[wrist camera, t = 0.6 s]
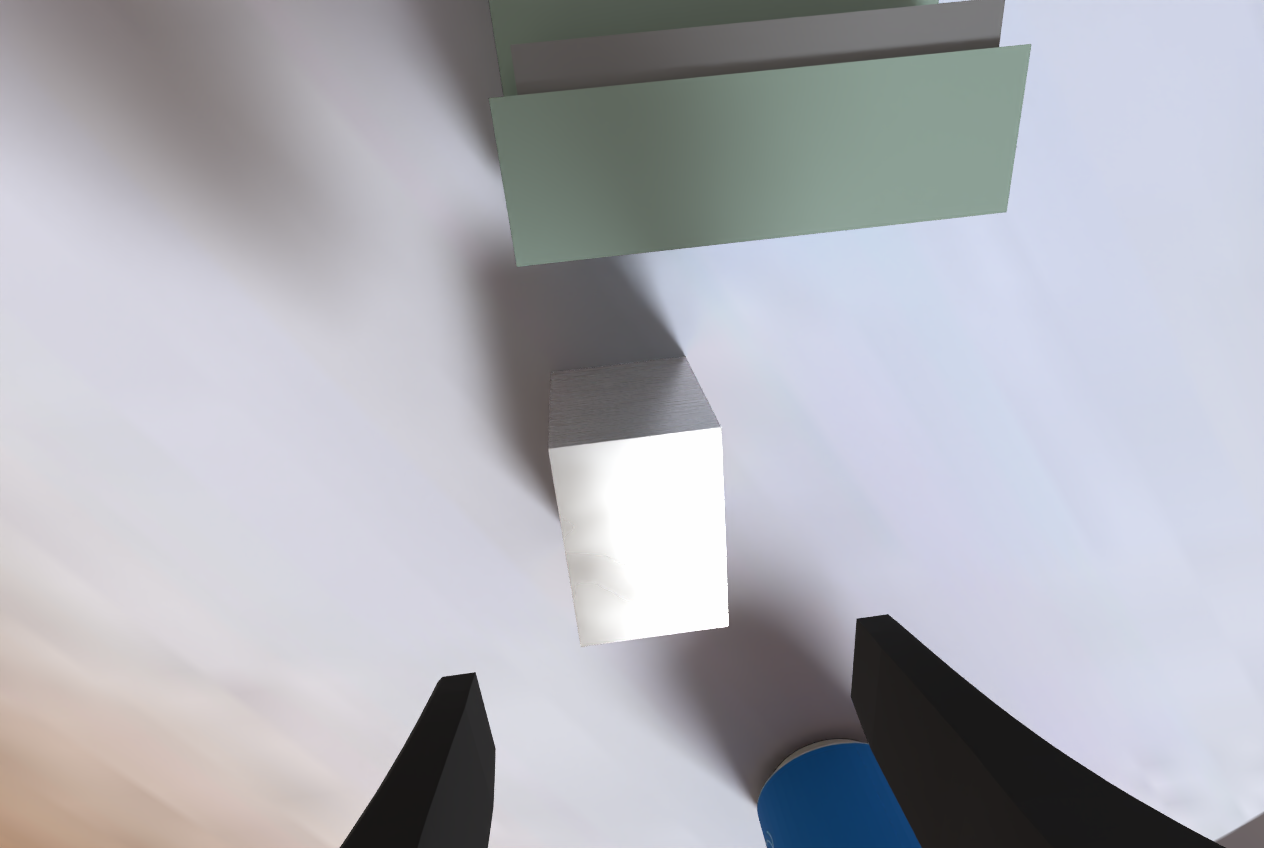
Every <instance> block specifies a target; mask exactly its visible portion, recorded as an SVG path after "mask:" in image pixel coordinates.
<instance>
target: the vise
mask: <svg viewBox="0 0 1264 848" xmlns="http://www.w3.org/2000/svg"><path fill="white" fill-rule="evenodd" d="M938 1H939V0H489V6H490V12H491V19H492V25H493V32H494V38H495V44H496V51H497V57H498V63H499V70H500V76H501V82H502V89H503V95H504V97H506V96H516V95H517V88H516V81H515V75H514V68H513V61H512V54H511V48H510V45H514V44H524V43H535V42H545V41H556V40H566V39H576V38H587V37H597V36H608V35H618V34H628V33H639V32H649V31H659V30H670V29H680V28H691V27H701V26H711V25H722V24H732V23H743V22H753V21H763V20H774V19H784V18H795V17H805V16H815V15H826V14H836V13H847V12H857V11H867V10H878V9H888V8H899V7H909V6H919V5H930V4H938Z"/></svg>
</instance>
